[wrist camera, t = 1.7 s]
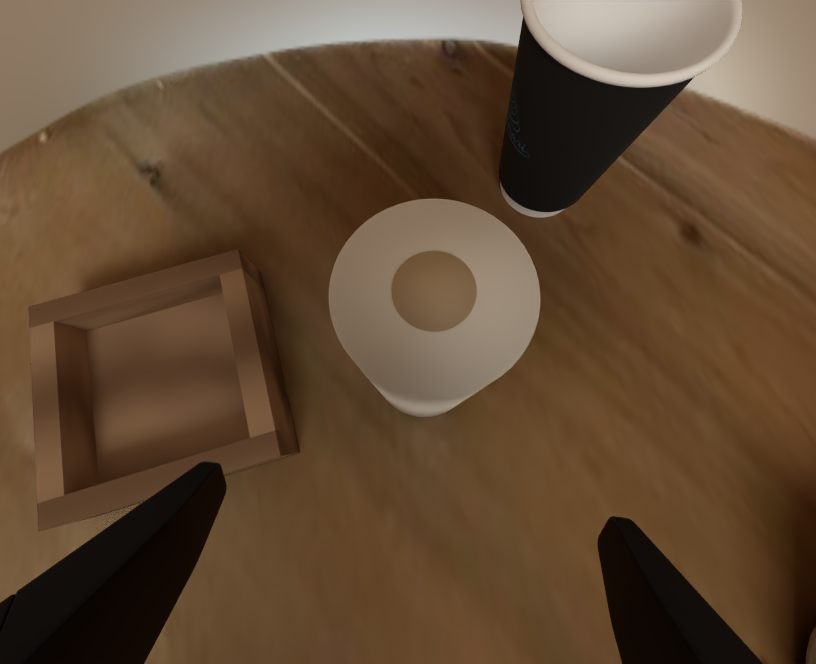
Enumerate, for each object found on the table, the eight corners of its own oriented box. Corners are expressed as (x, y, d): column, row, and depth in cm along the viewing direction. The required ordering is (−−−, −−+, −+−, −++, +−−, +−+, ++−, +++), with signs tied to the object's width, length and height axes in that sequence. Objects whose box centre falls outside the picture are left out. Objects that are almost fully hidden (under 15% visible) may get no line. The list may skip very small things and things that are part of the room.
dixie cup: (625, 187, 24) (790, -5, 14) (541, 265, 23) (650, 120, 12) (533, 113, 26) (617, -110, 15) (449, 182, 25) (476, -10, 14)
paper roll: (440, 437, 20) (474, 442, 9) (356, 383, 21) (285, 322, 10) (489, 352, 22) (578, 257, 10) (408, 304, 22) (400, 164, 11)
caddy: (299, 452, 20) (280, 455, 17) (93, 516, 20) (38, 531, 17) (260, 271, 23) (238, 248, 20) (78, 323, 22) (28, 306, 20)
